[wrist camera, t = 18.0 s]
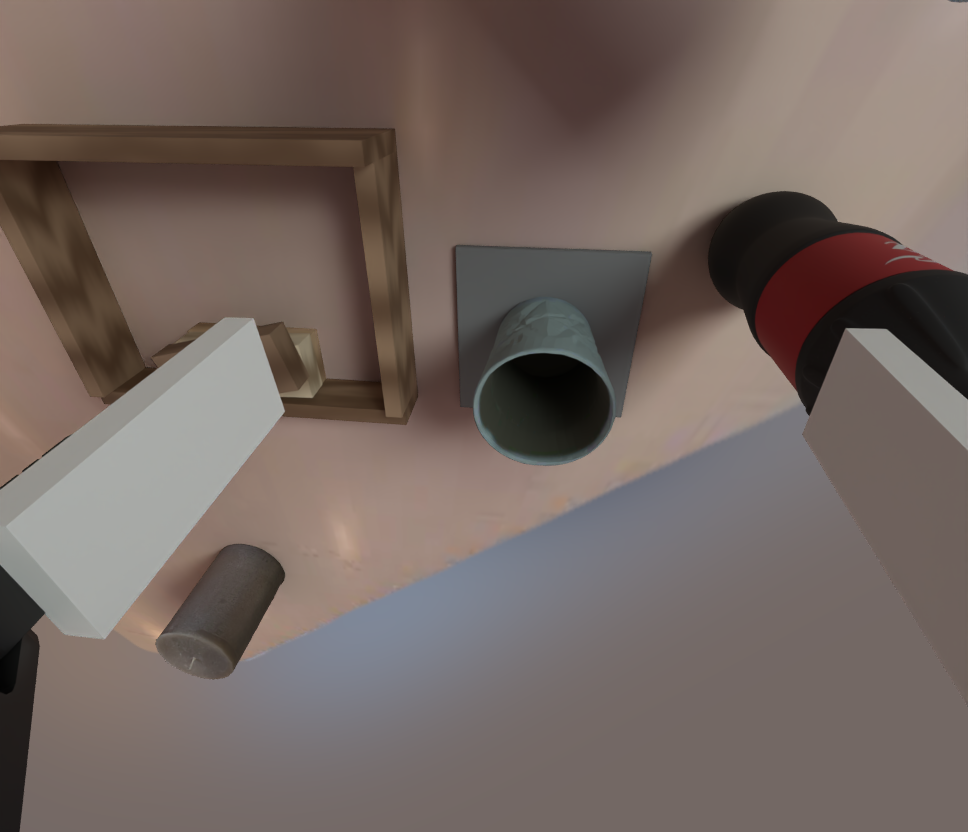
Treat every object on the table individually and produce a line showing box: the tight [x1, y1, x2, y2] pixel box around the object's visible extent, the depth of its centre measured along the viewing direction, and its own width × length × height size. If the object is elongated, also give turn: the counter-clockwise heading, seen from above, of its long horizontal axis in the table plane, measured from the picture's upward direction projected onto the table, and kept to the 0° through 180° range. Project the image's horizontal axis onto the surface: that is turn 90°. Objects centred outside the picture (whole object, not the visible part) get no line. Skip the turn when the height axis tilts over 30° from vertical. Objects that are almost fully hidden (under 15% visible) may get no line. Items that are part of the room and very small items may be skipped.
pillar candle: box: [155, 544, 285, 679], centre depth 65 cm, size 10×10×15 cm
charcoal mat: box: [456, 245, 652, 417], centre depth 46 cm, size 16×16×1 cm
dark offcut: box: [151, 322, 310, 394], centre depth 45 cm, size 6×12×2 cm, turn 104°
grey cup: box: [473, 297, 616, 466], centre depth 41 cm, size 10×10×12 cm
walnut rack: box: [0, 124, 418, 425], centre depth 43 cm, size 24×31×8 cm
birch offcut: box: [174, 332, 323, 398], centre depth 48 cm, size 6×12×2 cm, turn 92°
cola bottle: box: [708, 191, 968, 416], centre depth 27 cm, size 8×8×30 cm
